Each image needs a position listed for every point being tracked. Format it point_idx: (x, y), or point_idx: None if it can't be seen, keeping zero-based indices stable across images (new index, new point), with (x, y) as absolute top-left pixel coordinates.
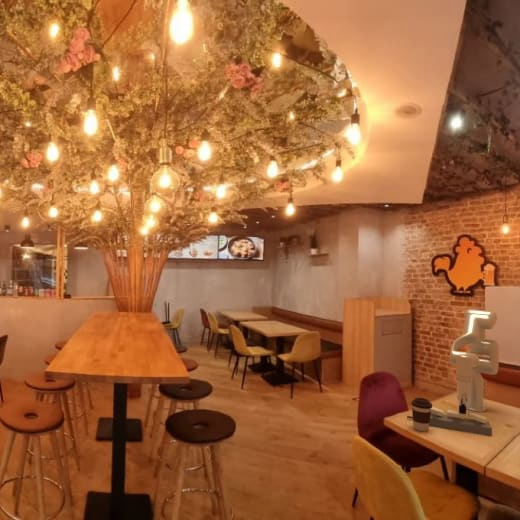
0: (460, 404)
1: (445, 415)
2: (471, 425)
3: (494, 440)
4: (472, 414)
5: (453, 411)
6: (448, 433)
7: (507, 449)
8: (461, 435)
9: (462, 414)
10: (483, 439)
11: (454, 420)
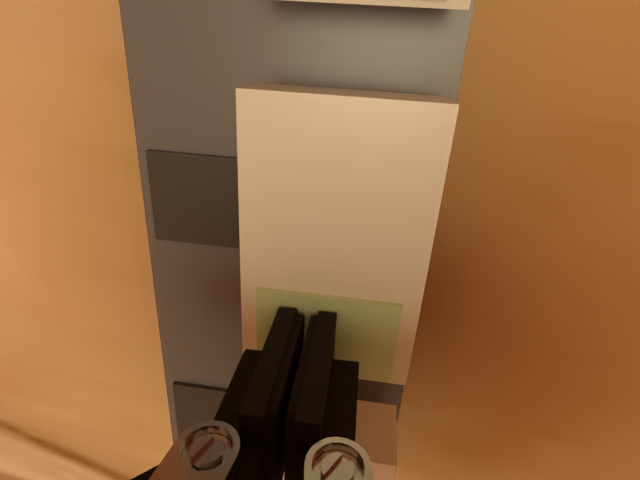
0: (165, 462)
1: (427, 63)
2: (163, 347)
3: (129, 423)
4: None
5: (355, 221)
6: (35, 56)
7: (8, 445)
8: (70, 194)
9: (252, 338)
10: (97, 356)
11: (202, 178)
